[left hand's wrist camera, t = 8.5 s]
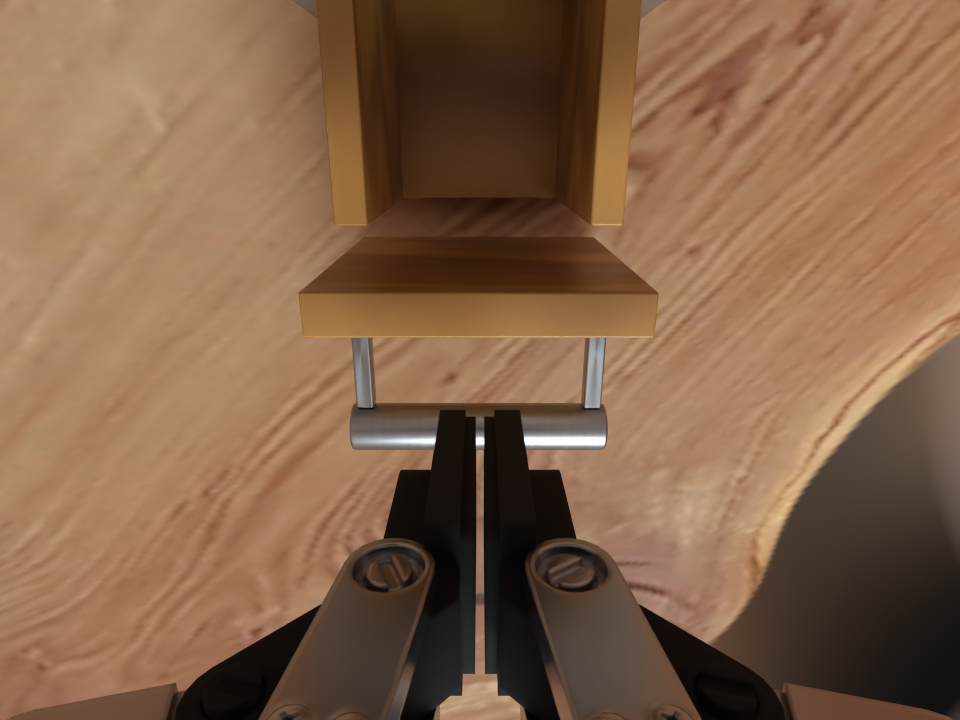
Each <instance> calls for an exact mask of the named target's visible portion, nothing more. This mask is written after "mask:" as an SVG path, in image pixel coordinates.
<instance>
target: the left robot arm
mask: <svg viewBox="0 0 960 720" xmlns="http://www.w3.org/2000/svg"><path fill="white" fill-rule="evenodd" d="M475 609H476V416H466V410H440V413H439V420H438V427H437V434H436V440H435V447H434V454H433V460H432V467H431V470H401V471H400V473H399V477H398V481H397V485H396V489H395V494H394V498H393V502H392V506H391V510H390V514H389V518H388V522H387V527H386V531H385V535H384V539H382V540H376V541H373V542H371V543H368V544H366V545H363V546H361V547H360V548H359V549H357V550H356V551H354V552H353V553H352V554H351V555H350V556H349V557H348V559H347V560H346V561H345V562H344V564H343V566H342V568H341V570H340V572H339V573H338V575H337V577H336V579H335V581H334V583H333V584H332V586H331V588H330V590H329V592H328V594H327V595H326V597H325V599H324V601H323V603H322V604H321V605H319V606H317V607H315V608H314V609H312V610H310V611H309V612H307V613H305V614H303V615H302V616H300V617H298V618H297V619H295V620H293V621H291V622H290V623H288V624H286V625H285V626H283V627H281V628H279V629H278V630H276V631H274V632H273V633H271V634H269V635H267V636H266V637H264V638H262V639H261V640H259V641H257V642H255V643H254V644H252V645H250V646H249V647H247V648H245V649H243V650H242V651H240V652H238V653H237V654H235V655H233V656H231V657H230V658H228V659H226V660H225V661H223V662H221V663H219V664H218V665H216V666H214V667H213V668H211V669H210V670H208V671H207V672H206V673H204V674H203V675H201V676H200V677H199V678H197V679H196V680H195V681H194V683H193V684H192V685H191V686H190V687H189V688H188V689H187V690H185V691H180V692H178V689H177V685H176V683H173V684H168V685H162V686H157V687H152V688H146V689H141V690H136V691H131V692H125V693H120V694H115V695H109V696H104V697H99V698H94V699H88V700H83V701H78V702H72V703H67V704H62V705H57V706H51V707H46V708H41V709H35V710H32V711H29V712H25V713H22V714H19V715H16V716H13V717H11V718H9V719H7V720H439V718H440V704H441V703H442V702H443V701H445V700H446V699H447V698H448V697H449V696H462V679H463V674H475ZM484 609H485V674H497V679H498V696H511V697H512V698H513V699H514V700H515V701H517V702H518V703H519V704H520V718H521V720H953V719H951V718H949V717H947V716H944V715H941V714H938V713H934V712H931V711H928V710H925V709H919V708H914V707H909V706H903V705H898V704H893V703H888V702H882V701H877V700H871V699H866V698H861V697H856V696H850V695H845V694H840V693H835V692H829V691H824V690H819V689H813V688H808V687H803V686H798V685H792V684H787V683H784V685H783V689H782V692H780V691H775V690H773V689H772V688H771V687H770V686H769V685H768V684H767V683H766V681H765V680H764V679H763V678H761V677H760V676H759V675H757V674H756V673H754V672H753V671H752V670H750V669H749V668H747V667H746V666H744V665H742V664H741V663H739V662H737V661H735V660H734V659H732V658H730V657H729V656H727V655H725V654H723V653H722V652H720V651H718V650H717V649H715V648H713V647H711V646H710V645H708V644H706V643H705V642H703V641H701V640H699V639H698V638H696V637H694V636H693V635H691V634H689V633H687V632H686V631H684V630H682V629H681V628H679V627H677V626H675V625H674V624H672V623H670V622H669V621H667V620H665V619H663V618H662V617H660V616H658V615H657V614H655V613H653V612H651V611H650V610H648V609H646V608H645V607H643V606H641V605H639V604H638V603H637V601H636V599H635V597H634V595H633V594H632V592H631V590H630V588H629V586H628V584H627V583H626V581H625V579H624V577H623V575H622V573H621V572H620V570H619V568H618V566H617V564H616V562H615V561H614V560H613V559H612V557H611V556H610V555H609V554H608V553H607V552H606V551H604V550H603V549H601V548H600V547H599V546H597V545H594V544H592V543H589V542H587V541H584V540H578V539H576V535H575V531H574V527H573V522H572V518H571V514H570V510H569V506H568V502H567V498H566V494H565V489H564V485H563V481H562V477H561V473H560V471H559V470H529V467H528V460H527V454H526V447H525V440H524V434H523V427H522V420H521V413H520V410H494V416H484Z"/></svg>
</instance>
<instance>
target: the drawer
mask: <svg viewBox="0 0 960 720" xmlns="http://www.w3.org/2000/svg"><path fill="white" fill-rule="evenodd" d="M316 4H317V16H318V29H319V41H320V53H321V66H322V78H323V90H324V102H325V115H326V127H327V139H328V152H329V164H330V176H331V189H332V201H333V213H334V224H335V225H336V226H366V225H368V224H369V223H370V222H372V221H373V220H374V219H376V218H377V217H378V216H380V215H381V214H382V213H383V212H385V211H386V210H387V209H389V208H390V207H391V206H393V205H394V204H395V203H397V202H398V201H399V200H401V199H402V198H556V199H557V200H559V201H560V202H561V203H563V204H564V205H565V206H567V207H568V208H569V209H570V210H572V211H573V212H574V213H576V214H577V215H578V216H580V217H581V218H582V219H584V220H585V221H586V222H587V223H589V224H590V225H592V226H622V224H623V219H624V207H625V195H626V183H627V171H628V159H629V147H630V135H631V123H632V111H633V99H634V88H635V76H636V64H637V52H638V40H639V28H640V16H641V4H642V0H316ZM658 297H659V294H658V292H657V291H656V290H654V289H653V288H652V287H651V286H650V285H649V284H647V283H646V282H645V281H644V280H643V279H642V278H640V277H639V276H638V275H637V274H636V273H635V272H633V271H632V270H631V269H630V268H629V267H628V266H626V265H625V264H624V263H623V262H622V261H621V260H619V259H618V258H617V257H616V256H615V255H614V254H612V253H611V252H610V251H609V250H608V249H607V248H605V247H604V246H603V245H602V244H601V243H600V242H598V241H597V240H596V239H595V238H589V237H364V238H363V239H361V240H360V241H359V242H358V243H357V244H356V245H354V246H353V247H352V248H351V249H350V250H348V251H347V252H346V253H345V254H344V255H343V256H341V257H340V258H339V259H338V260H337V261H335V262H334V263H333V264H332V265H331V266H330V267H328V268H327V269H326V270H325V271H324V272H322V273H321V274H320V275H319V276H318V277H317V278H315V279H314V280H313V281H312V282H311V283H309V284H308V285H307V286H306V287H305V288H304V289H302V290H301V291H300V292H299V302H300V311H301V321H302V330H303V336H304V337H320V338H352V350H353V363H354V376H355V389H356V402H357V403H356V404H354V405H353V408H352V411H351V416H350V440H351V445H352V447H353V449H355V450H434V447H435V440H436V434H437V427H438V420H439V413H440V410H466V416H476V450H484V416H494V410H520V413H521V420H522V427H523V434H524V440H525V447H526V450H603V449H604V448H605V446H606V442H607V434H608V424H607V414H606V410H605V407H604V405H603V404H601V396H602V383H603V370H604V358H605V345H606V338H653V337H654V333H655V324H656V315H657V306H658ZM372 338H585V352H584V367H583V382H582V398H581V402H582V403H375V402H376V391H375V375H374V360H373V344H372Z"/></svg>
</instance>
